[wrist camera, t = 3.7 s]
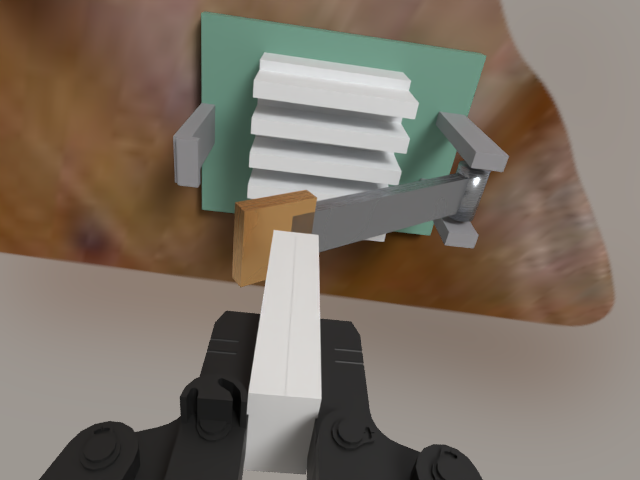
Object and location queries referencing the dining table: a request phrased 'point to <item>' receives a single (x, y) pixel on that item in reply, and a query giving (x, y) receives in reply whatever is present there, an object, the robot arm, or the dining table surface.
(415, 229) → the heatsink board
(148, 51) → the dining table surface
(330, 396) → the robot arm
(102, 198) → the dining table surface
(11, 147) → the dining table surface
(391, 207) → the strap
